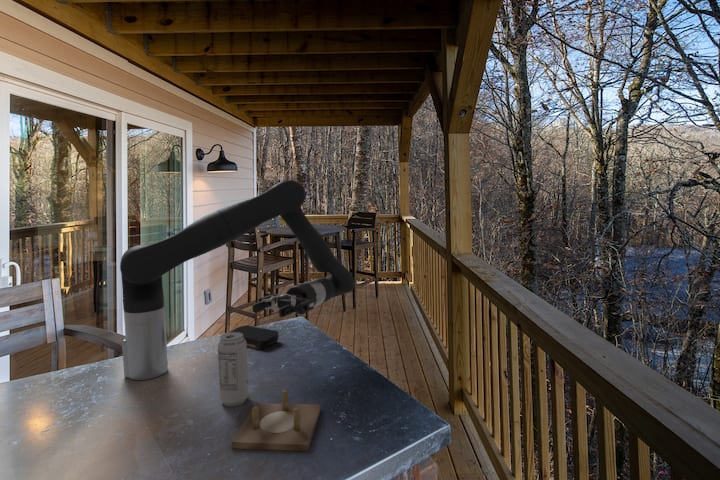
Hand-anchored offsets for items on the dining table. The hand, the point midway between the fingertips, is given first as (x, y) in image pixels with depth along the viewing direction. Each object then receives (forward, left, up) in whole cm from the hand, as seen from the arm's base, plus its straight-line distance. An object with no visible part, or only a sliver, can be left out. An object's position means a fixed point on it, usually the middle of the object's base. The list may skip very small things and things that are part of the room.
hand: (266, 310), depth 98 cm
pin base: (+8, -20, -18) cm, 28 cm away
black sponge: (-13, +27, -18) cm, 35 cm away
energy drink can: (-5, -10, -18) cm, 21 cm away
